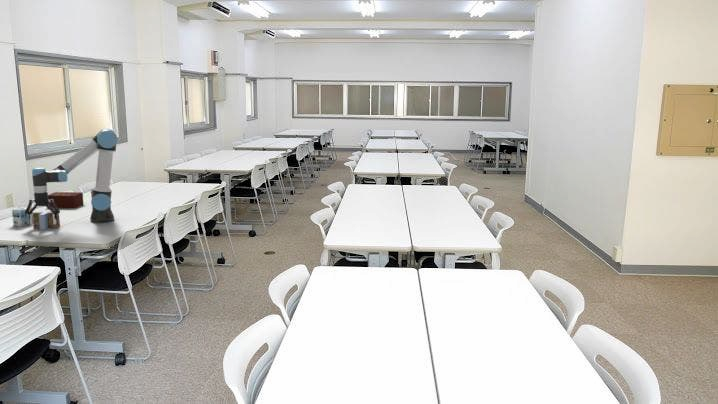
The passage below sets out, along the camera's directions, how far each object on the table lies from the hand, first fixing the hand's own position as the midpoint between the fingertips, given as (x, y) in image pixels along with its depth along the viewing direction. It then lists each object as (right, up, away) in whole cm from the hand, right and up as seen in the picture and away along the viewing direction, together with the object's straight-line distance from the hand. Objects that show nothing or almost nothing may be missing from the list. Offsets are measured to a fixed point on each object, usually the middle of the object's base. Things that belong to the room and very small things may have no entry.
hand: (43, 224), depth 342 cm
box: (-25, +11, +71) cm, 76 cm away
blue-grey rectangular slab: (-1, -2, +5) cm, 6 cm away
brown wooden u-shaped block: (-1, -2, +5) cm, 6 cm away
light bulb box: (-20, -1, +11) cm, 23 cm away
